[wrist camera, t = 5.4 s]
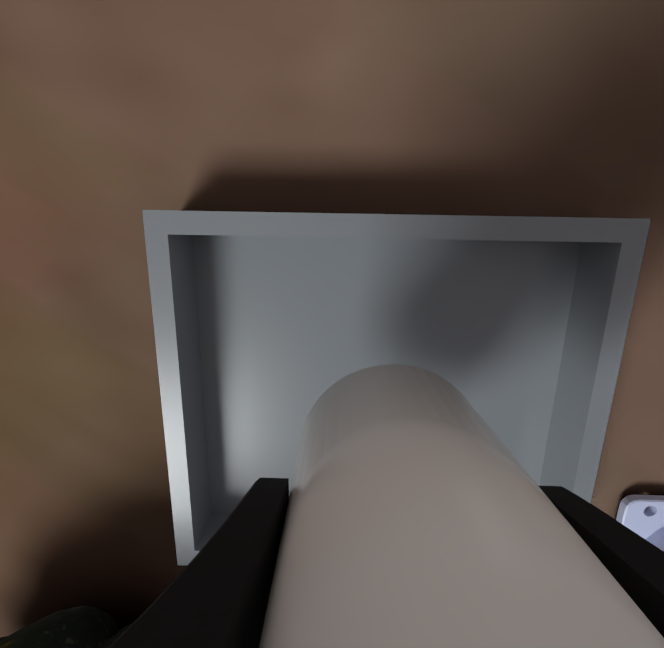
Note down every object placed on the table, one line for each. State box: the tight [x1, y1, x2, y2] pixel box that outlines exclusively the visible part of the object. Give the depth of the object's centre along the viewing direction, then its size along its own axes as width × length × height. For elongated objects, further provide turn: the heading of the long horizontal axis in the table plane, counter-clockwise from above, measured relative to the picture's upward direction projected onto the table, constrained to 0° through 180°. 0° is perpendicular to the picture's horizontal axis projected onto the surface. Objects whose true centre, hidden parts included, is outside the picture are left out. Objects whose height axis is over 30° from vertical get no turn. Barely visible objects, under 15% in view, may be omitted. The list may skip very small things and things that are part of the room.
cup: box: [259, 364, 664, 648], centre depth 6 cm, size 5×5×8 cm
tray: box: [142, 210, 651, 565], centre depth 14 cm, size 15×13×2 cm
